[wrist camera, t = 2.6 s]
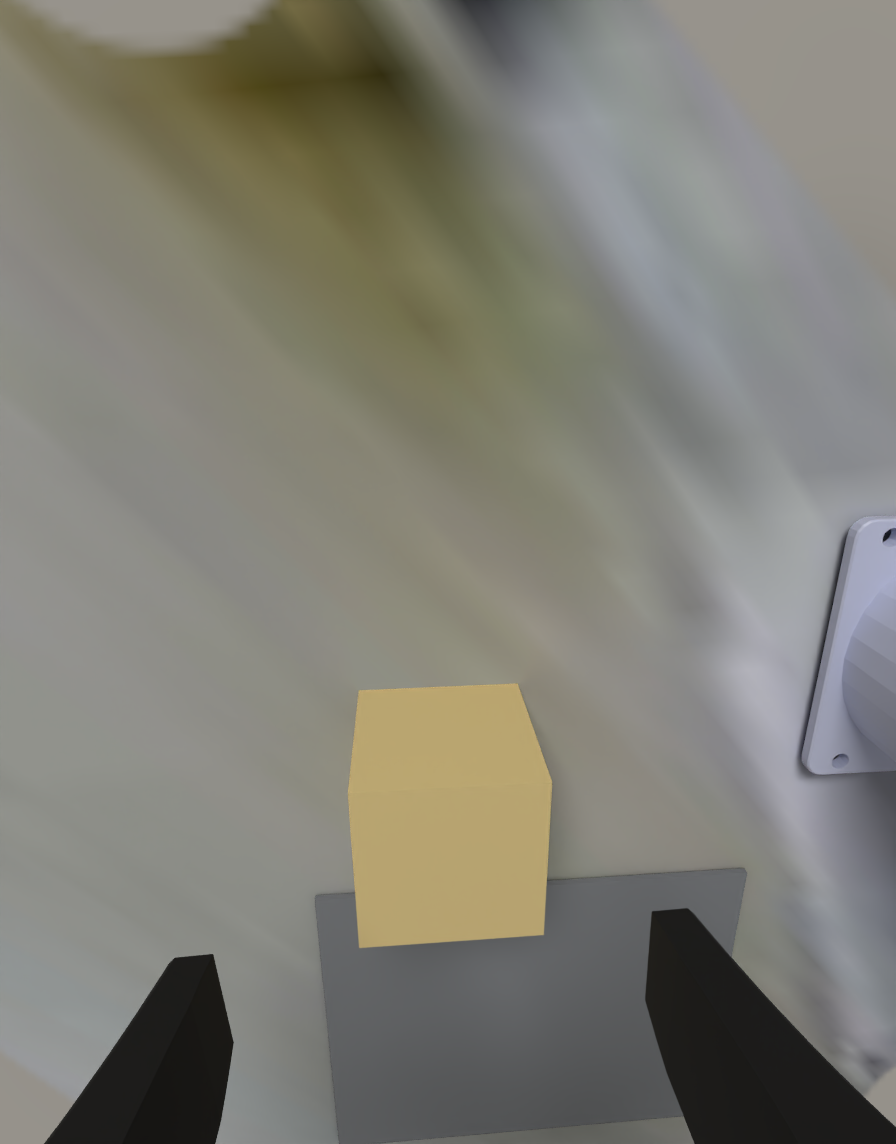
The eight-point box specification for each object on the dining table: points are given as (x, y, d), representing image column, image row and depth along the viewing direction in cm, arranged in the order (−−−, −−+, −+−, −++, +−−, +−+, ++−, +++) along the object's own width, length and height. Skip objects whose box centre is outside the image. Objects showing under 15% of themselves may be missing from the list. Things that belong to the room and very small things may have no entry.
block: (517, 682, 19) (552, 782, 14) (513, 810, 20) (543, 934, 16) (359, 689, 18) (348, 793, 14) (367, 818, 20) (359, 947, 16)
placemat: (743, 867, 22) (747, 872, 21) (699, 1108, 26) (701, 1114, 25) (315, 895, 21) (314, 900, 20) (339, 1140, 25) (339, 1146, 25)
